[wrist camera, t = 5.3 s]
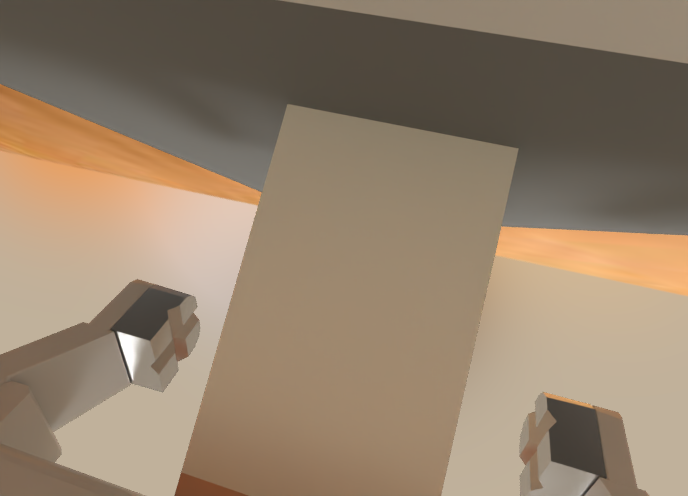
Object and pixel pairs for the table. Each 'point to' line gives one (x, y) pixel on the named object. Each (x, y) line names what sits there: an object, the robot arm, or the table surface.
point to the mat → (388, 86)
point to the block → (352, 313)
